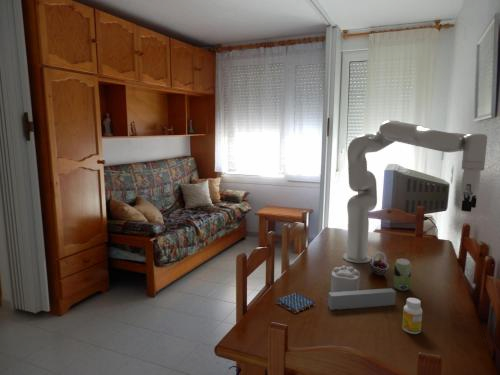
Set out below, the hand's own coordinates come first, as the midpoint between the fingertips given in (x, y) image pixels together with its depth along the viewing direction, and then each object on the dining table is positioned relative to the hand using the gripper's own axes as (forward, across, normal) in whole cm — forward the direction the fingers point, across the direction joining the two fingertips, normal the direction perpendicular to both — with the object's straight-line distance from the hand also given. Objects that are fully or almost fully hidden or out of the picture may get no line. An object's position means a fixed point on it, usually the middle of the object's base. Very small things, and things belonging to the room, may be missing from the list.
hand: (468, 209), depth 144 cm
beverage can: (+31, +21, -17) cm, 41 cm away
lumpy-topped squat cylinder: (+32, +36, -34) cm, 58 cm away
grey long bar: (+31, +44, -23) cm, 59 cm away
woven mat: (+32, +59, -42) cm, 79 cm away
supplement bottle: (+31, +50, -5) cm, 59 cm away
